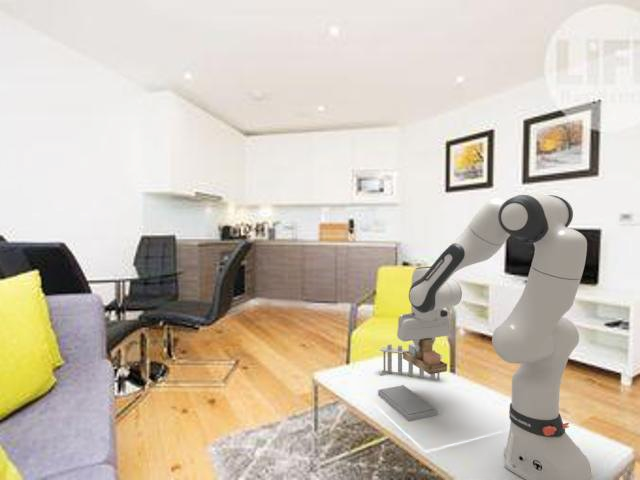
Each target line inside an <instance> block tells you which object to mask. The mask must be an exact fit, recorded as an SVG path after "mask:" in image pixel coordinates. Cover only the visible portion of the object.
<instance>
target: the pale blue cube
mask: <svg viewBox="0 0 640 480" xmlns="http://www.w3.org/2000/svg"><path fill="white" fill-rule="evenodd" d="M408 348H409V349H408V350H409V354H410V355H412V356H414V357H415V358H416V346H415V344H414V343H409V344H408Z"/></svg>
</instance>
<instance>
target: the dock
mask: <svg viewBox="0 0 640 480" xmlns="http://www.w3.org/2000/svg"><path fill="white" fill-rule="evenodd" d="M377 393H378V396H379V397H380V398H381V399H382V400H383V401H385V403H386V404H388V405H389V406H390V407H391V408H393V410H394V411H396V412H397V413H398V414H399V415H401V417H403V418H404V419H405V420H406V421H407V422H411V421H416V420H422V419H425V418H429V417H434V416H437V415H438V409H436V408H435V407H434V406H433V405H431V404H430V403H428V402H427V401H426V400H425V399H423V398H422V397H421V396H419V395H418V394H417V393H415V392H414V391H412V390H410V388H408V387H407V386H405V385H404V384H402V385H397V386H391V387H386V388H380V389H378V390H377Z"/></svg>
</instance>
